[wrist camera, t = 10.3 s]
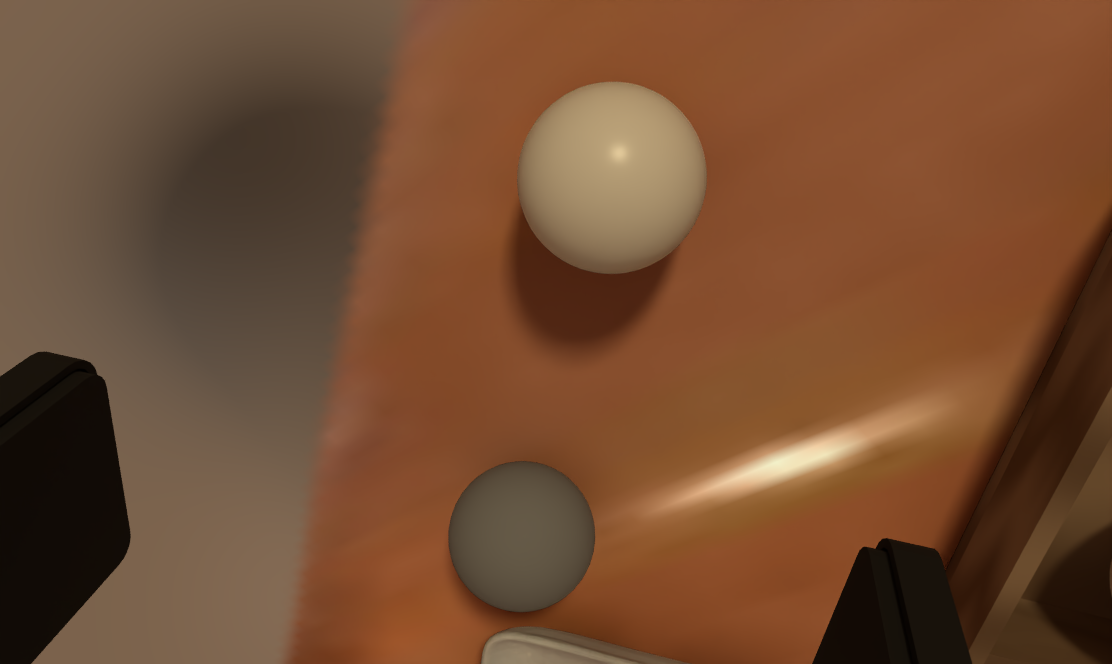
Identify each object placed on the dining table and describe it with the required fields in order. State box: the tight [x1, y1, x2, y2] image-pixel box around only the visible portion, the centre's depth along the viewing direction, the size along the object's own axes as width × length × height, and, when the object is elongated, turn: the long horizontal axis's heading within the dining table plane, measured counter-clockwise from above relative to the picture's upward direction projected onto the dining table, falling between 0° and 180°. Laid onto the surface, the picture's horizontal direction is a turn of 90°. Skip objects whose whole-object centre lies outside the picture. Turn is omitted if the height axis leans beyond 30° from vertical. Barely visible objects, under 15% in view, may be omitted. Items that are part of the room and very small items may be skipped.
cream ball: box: [517, 82, 707, 274], centre depth 23 cm, size 5×5×5 cm
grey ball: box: [449, 461, 595, 612], centre depth 29 cm, size 5×5×5 cm
